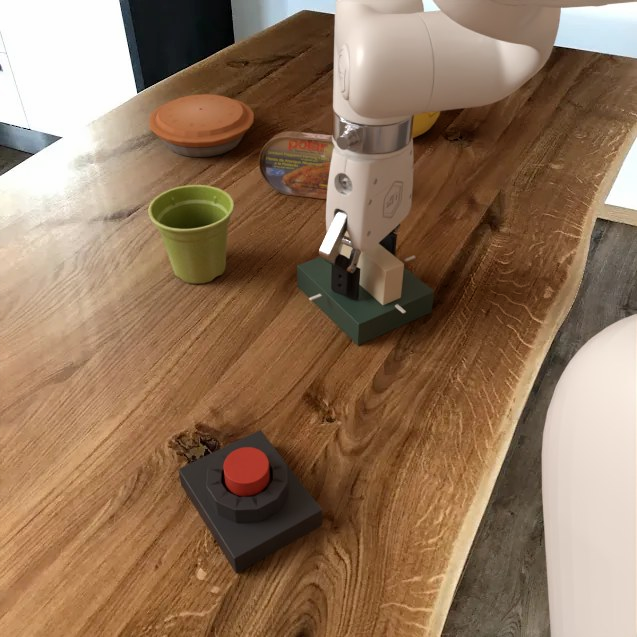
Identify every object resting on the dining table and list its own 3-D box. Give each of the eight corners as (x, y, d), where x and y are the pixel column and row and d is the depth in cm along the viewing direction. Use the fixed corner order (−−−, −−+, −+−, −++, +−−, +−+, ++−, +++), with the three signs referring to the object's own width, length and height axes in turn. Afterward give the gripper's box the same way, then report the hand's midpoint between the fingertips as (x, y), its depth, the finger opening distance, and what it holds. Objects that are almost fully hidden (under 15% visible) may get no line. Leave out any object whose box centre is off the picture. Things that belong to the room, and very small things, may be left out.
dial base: (452, 311, 81) (456, 288, 79) (347, 359, 75) (348, 336, 73) (376, 248, 90) (377, 226, 88) (276, 287, 84) (275, 265, 82)
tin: (259, 191, 100) (256, 134, 94) (266, 180, 102) (263, 123, 96) (368, 206, 97) (371, 148, 91) (372, 194, 99) (375, 137, 94)
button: (278, 483, 59) (277, 470, 58) (238, 504, 57) (237, 490, 56) (255, 453, 61) (254, 440, 60) (217, 473, 59) (215, 459, 58)
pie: (134, 158, 106) (129, 126, 103) (175, 112, 118) (171, 82, 115) (235, 171, 104) (233, 138, 100) (267, 123, 115) (265, 93, 112)
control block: (322, 525, 60) (322, 496, 57) (236, 574, 57) (232, 545, 54) (261, 445, 66) (259, 415, 64) (180, 484, 63) (175, 455, 60)
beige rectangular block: (401, 297, 78) (404, 261, 74) (383, 305, 76) (385, 269, 73) (347, 251, 84) (348, 216, 81) (329, 258, 83) (330, 223, 80)
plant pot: (155, 296, 82) (144, 232, 77) (161, 248, 89) (151, 185, 84) (239, 292, 83) (233, 227, 77) (238, 244, 90) (233, 182, 84)
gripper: (356, 176, 62) (349, 333, 73) (450, 103, 72) (430, 250, 84) (285, 151, 65) (289, 306, 76) (385, 85, 76) (375, 229, 87)
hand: (363, 275), depth 80 cm, fingers open, 6 cm apart
